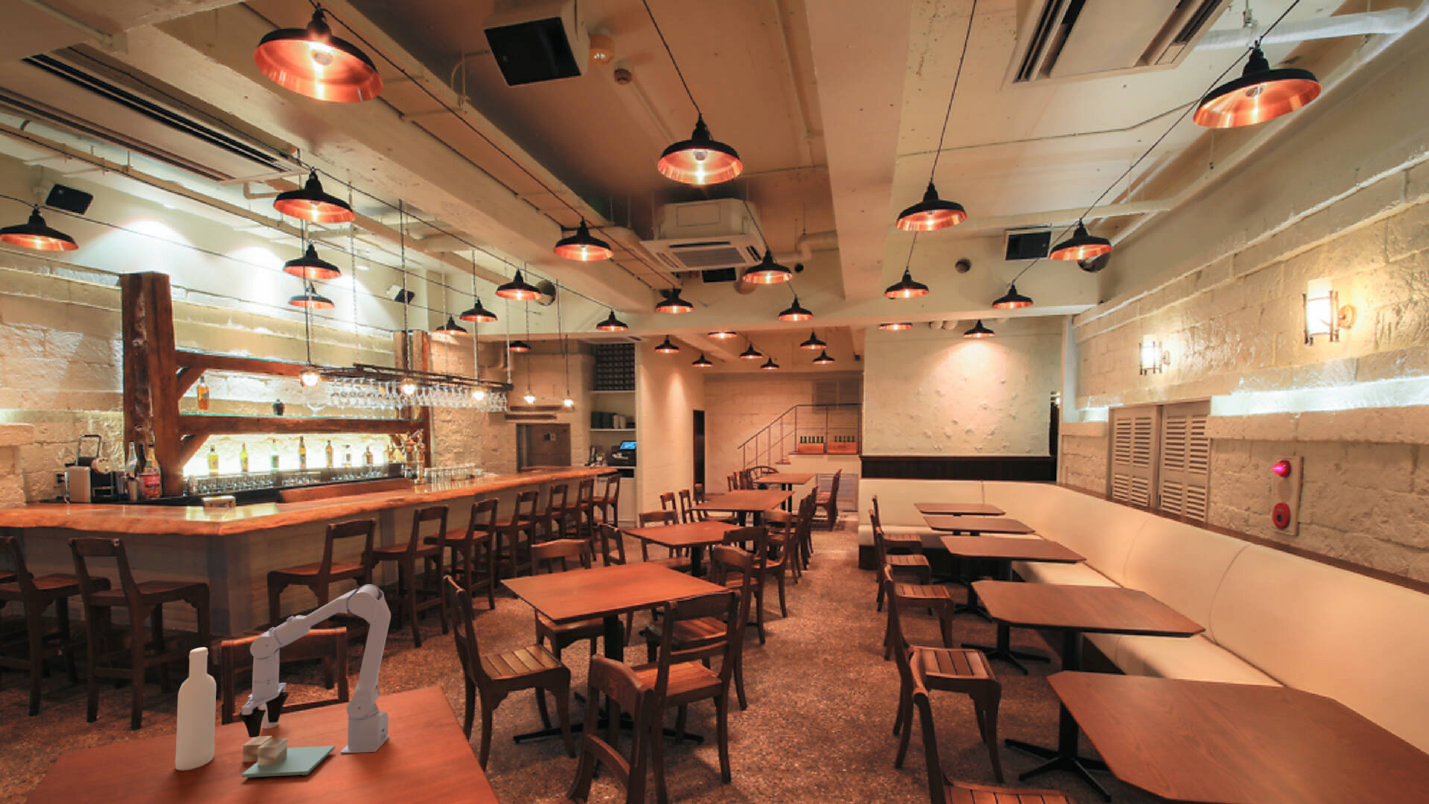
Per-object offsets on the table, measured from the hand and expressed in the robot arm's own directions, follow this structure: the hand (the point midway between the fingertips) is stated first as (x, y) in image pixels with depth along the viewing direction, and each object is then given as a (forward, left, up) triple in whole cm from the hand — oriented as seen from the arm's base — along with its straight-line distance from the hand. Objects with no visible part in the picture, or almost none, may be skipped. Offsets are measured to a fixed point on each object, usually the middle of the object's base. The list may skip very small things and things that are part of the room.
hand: (264, 729), depth 158 cm
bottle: (+18, -1, -9) cm, 20 cm away
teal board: (-9, +3, -9) cm, 13 cm away
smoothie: (+11, -20, -9) cm, 25 cm away
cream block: (-4, +3, -7) cm, 9 cm away
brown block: (+3, -3, -9) cm, 10 cm away
